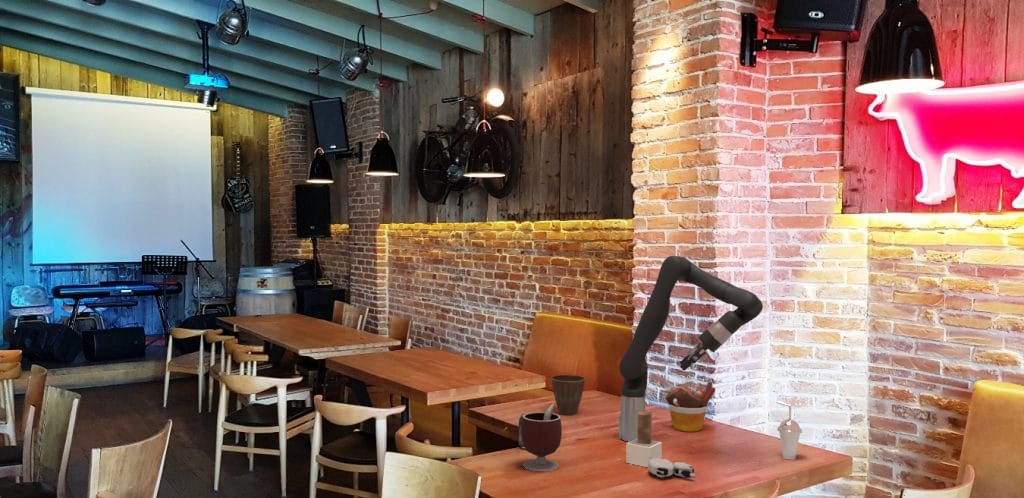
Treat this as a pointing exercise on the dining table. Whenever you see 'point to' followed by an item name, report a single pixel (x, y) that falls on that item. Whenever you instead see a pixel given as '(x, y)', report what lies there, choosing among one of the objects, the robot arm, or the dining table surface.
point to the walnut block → (644, 427)
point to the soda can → (520, 431)
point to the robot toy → (669, 468)
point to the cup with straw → (789, 436)
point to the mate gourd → (541, 438)
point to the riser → (642, 452)
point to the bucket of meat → (688, 407)
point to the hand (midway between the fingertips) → (681, 366)
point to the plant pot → (568, 392)
